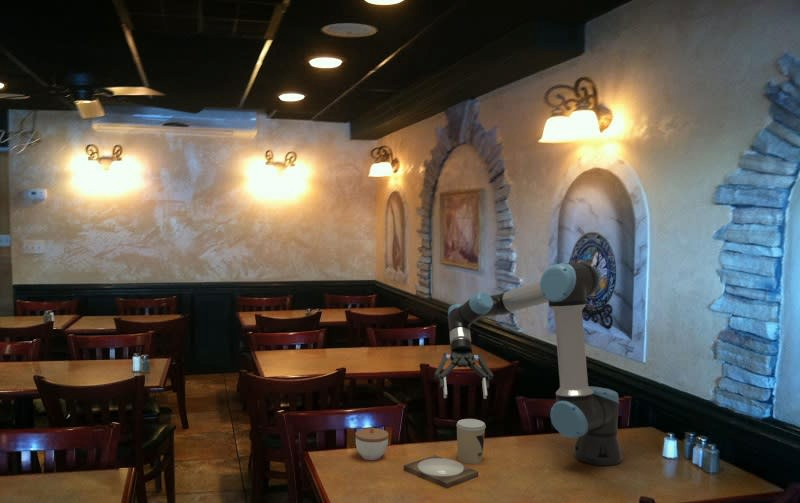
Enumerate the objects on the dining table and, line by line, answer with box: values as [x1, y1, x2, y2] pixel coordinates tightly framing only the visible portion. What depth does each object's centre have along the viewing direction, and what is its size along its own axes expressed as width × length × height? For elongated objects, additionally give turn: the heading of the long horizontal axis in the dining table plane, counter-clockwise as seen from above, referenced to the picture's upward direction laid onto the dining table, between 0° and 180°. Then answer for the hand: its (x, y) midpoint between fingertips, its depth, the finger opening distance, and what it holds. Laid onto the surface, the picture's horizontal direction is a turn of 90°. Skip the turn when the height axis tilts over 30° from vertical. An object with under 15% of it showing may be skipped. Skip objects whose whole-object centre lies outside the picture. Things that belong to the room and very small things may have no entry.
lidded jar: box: [354, 427, 389, 461], centre depth 225 cm, size 11×11×9 cm
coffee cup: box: [456, 418, 487, 465], centre depth 225 cm, size 9×9×12 cm
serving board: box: [403, 454, 479, 489], centre depth 213 cm, size 18×14×2 cm
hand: (465, 396), depth 235 cm, fingers open, 13 cm apart
